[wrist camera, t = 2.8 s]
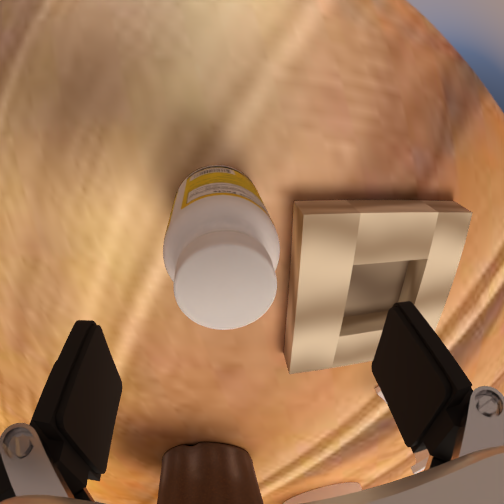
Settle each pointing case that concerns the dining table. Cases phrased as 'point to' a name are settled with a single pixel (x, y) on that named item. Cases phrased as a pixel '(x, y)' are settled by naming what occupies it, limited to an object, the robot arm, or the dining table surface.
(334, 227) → the socket block
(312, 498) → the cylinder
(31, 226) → the dining table surface
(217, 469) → the plant pot
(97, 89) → the dining table surface
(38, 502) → the robot arm
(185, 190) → the supplement bottle
